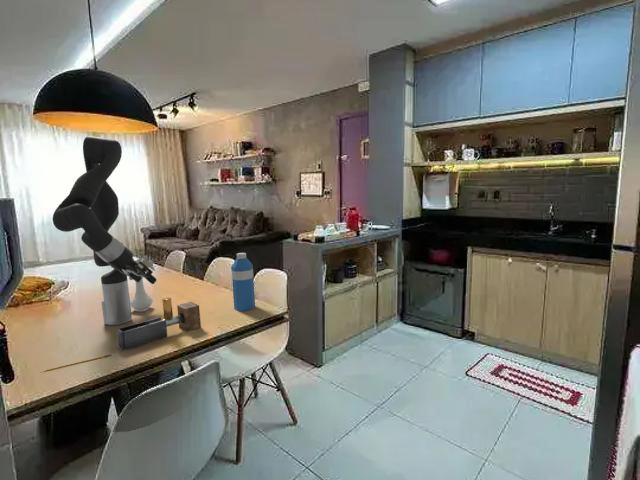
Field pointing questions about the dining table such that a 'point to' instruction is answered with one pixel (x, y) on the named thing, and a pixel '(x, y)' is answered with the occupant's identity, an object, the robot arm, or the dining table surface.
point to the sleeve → (141, 333)
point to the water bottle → (243, 283)
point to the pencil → (78, 363)
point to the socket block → (189, 316)
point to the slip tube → (170, 314)
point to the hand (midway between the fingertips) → (147, 281)
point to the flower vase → (141, 289)
